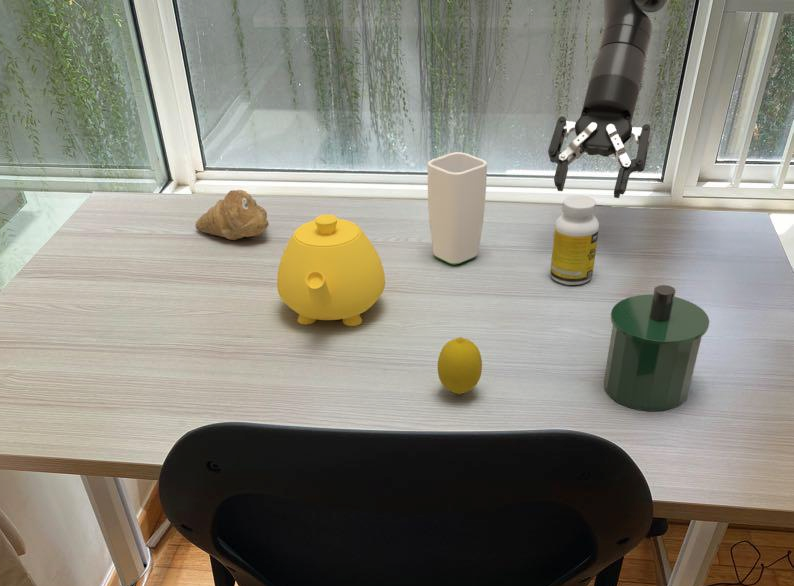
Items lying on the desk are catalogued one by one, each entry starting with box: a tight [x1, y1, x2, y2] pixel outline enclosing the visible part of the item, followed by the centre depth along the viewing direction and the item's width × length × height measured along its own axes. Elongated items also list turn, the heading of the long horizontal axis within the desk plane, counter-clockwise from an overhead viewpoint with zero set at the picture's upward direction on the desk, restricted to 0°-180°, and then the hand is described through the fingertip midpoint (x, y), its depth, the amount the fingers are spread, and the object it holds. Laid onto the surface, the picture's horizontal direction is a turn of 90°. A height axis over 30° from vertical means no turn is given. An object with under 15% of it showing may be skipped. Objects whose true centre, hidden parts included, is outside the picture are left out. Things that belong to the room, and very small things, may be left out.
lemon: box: [437, 336, 483, 395], centre depth 109 cm, size 6×6×8 cm
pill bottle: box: [549, 195, 600, 286], centre depth 130 cm, size 6×6×12 cm
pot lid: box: [610, 284, 710, 345], centre depth 104 cm, size 11×11×5 cm
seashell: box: [195, 189, 270, 241], centre depth 147 cm, size 14×8×8 cm
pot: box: [603, 325, 703, 412], centre depth 108 cm, size 10×10×10 cm
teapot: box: [276, 213, 386, 327], centre depth 123 cm, size 20×16×14 cm
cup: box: [427, 151, 488, 266], centre depth 135 cm, size 7×7×15 cm
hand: (587, 192), depth 130 cm, fingers open, 8 cm apart
